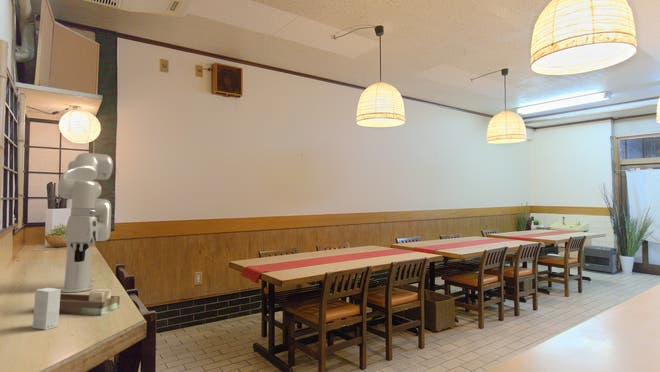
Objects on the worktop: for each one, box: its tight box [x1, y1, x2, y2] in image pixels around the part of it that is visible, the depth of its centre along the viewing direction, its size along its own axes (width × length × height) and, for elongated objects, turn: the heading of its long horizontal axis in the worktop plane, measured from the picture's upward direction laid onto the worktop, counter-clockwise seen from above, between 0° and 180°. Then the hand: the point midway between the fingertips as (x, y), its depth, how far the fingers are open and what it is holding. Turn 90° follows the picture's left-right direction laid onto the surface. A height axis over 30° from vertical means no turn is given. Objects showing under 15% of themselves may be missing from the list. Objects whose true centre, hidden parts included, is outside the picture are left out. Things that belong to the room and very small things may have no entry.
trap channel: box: [59, 292, 121, 317], centre depth 141 cm, size 10×25×4 cm, turn 87°
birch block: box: [88, 288, 112, 302], centre depth 141 cm, size 5×5×5 cm
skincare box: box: [32, 287, 62, 331], centre depth 121 cm, size 6×4×12 cm
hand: (79, 261), depth 143 cm, fingers closed
